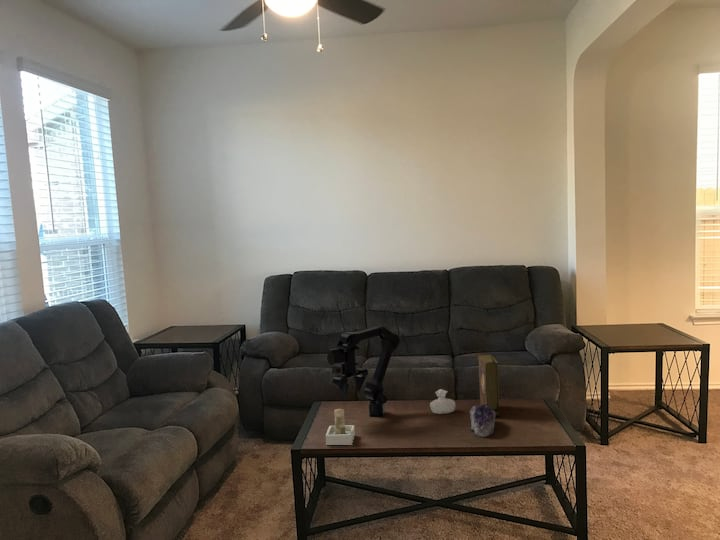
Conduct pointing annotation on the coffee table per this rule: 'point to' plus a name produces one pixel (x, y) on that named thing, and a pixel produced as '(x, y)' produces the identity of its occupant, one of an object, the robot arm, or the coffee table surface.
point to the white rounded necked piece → (442, 403)
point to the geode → (482, 420)
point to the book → (489, 382)
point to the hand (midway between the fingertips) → (351, 394)
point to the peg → (339, 421)
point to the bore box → (340, 436)
